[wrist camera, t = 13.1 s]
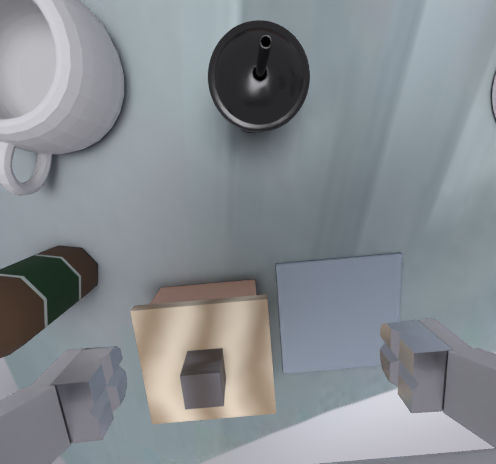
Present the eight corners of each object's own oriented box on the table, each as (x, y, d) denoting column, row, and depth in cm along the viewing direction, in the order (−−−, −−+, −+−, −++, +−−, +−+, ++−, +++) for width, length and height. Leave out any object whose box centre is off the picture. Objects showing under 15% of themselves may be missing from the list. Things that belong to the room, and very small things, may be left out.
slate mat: (400, 252, 39) (401, 253, 38) (396, 361, 43) (398, 363, 42) (275, 263, 39) (275, 264, 38) (282, 371, 43) (283, 373, 42)
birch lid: (266, 294, 32) (270, 317, 27) (275, 405, 36) (280, 444, 31) (134, 305, 32) (114, 331, 27) (155, 415, 36) (140, 456, 31)
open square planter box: (254, 279, 39) (257, 302, 33) (261, 361, 42) (265, 398, 35) (160, 287, 39) (143, 312, 33) (174, 369, 42) (161, 408, 35)
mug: (-14, -17, 31) (-130, -101, 22) (139, 19, 32) (94, -45, 23) (-15, 178, 36) (-111, 182, 26) (119, 204, 37) (75, 217, 27)
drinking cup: (253, 158, 36) (266, 147, 16) (208, 112, 35) (163, 42, 15) (297, 111, 35) (367, 40, 15) (252, 62, 33) (265, -83, 14)
